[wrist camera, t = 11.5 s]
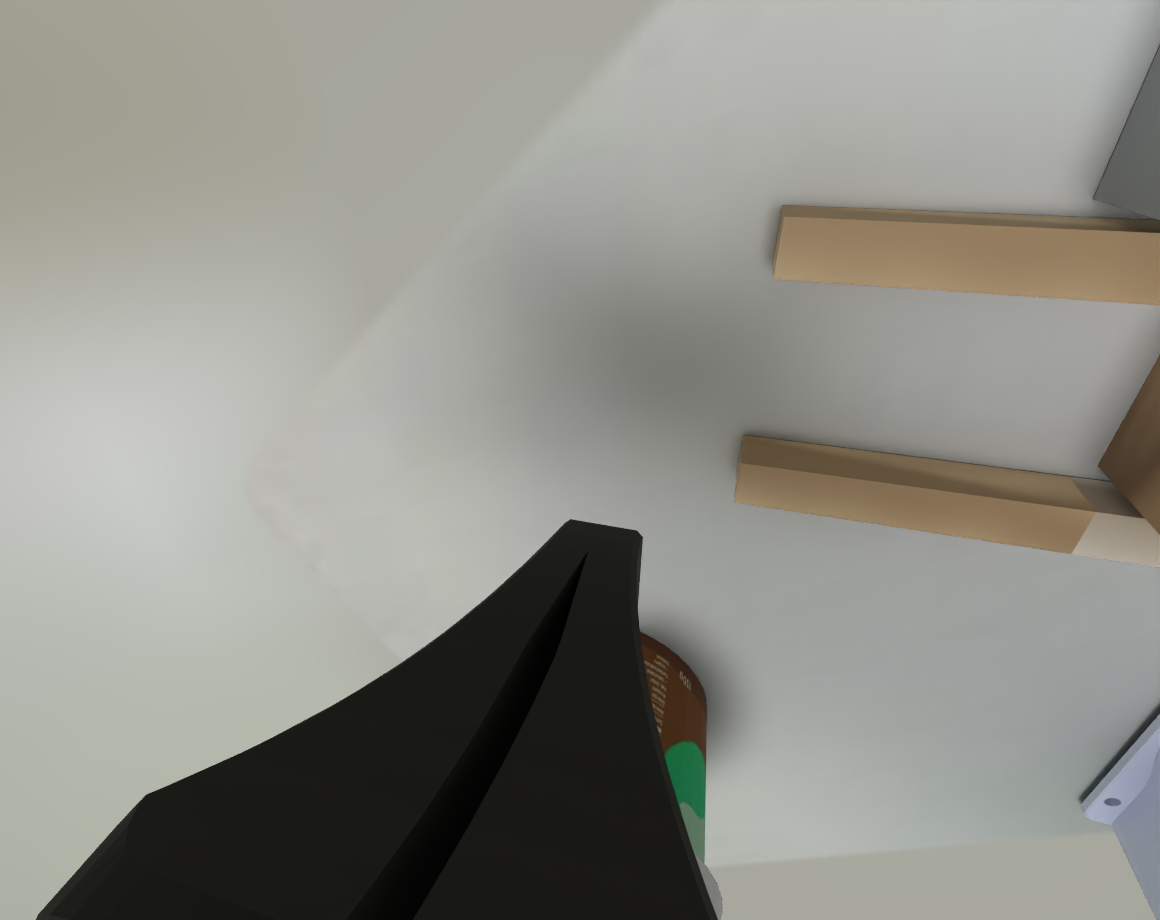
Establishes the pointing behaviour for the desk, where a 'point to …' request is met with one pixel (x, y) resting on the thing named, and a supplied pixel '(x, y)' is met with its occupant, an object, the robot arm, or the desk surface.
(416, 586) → the desk surface
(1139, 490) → the block
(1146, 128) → the grey housing block
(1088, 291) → the channel
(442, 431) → the desk surface
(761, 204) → the desk surface
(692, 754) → the food container
